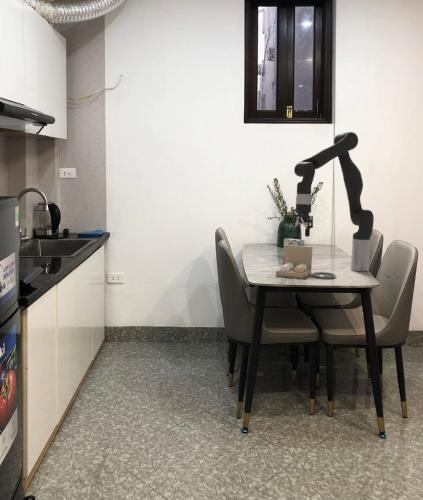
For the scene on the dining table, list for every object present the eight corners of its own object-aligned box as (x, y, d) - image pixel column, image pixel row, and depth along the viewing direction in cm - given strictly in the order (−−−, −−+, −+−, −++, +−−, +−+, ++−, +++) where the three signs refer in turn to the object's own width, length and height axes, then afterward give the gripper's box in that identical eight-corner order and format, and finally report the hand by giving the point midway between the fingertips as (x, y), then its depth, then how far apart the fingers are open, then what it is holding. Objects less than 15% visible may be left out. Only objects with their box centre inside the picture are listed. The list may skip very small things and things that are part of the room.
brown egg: (295, 274, 246) (295, 264, 246) (304, 275, 244) (305, 265, 244) (292, 275, 242) (293, 266, 241) (302, 276, 240) (303, 267, 239)
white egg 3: (298, 271, 253) (298, 262, 252) (307, 272, 251) (308, 263, 250) (296, 273, 248) (296, 263, 247) (305, 274, 246) (306, 264, 245)
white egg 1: (282, 272, 249) (282, 263, 248) (291, 273, 247) (291, 264, 246) (279, 274, 245) (279, 265, 244) (289, 275, 243) (289, 265, 242)
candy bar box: (303, 269, 262) (305, 240, 259) (297, 270, 259) (299, 240, 256) (288, 266, 270) (289, 237, 268) (282, 267, 267) (283, 238, 265)
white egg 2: (285, 270, 255) (285, 261, 255) (294, 271, 253) (295, 262, 253) (283, 272, 251) (283, 262, 250) (292, 273, 249) (292, 263, 248)
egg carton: (283, 270, 258) (284, 245, 256) (311, 273, 252) (312, 247, 250) (276, 276, 244) (276, 248, 242) (304, 278, 238) (306, 251, 236)
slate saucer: (315, 273, 251) (315, 271, 251) (336, 275, 247) (336, 273, 246) (310, 277, 241) (310, 275, 241) (333, 279, 237) (333, 277, 236)
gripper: (289, 202, 243) (288, 234, 246) (305, 204, 230) (303, 237, 233) (302, 202, 246) (301, 233, 248) (318, 203, 233) (317, 236, 235)
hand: (302, 235), depth 241 cm, fingers open, 8 cm apart
